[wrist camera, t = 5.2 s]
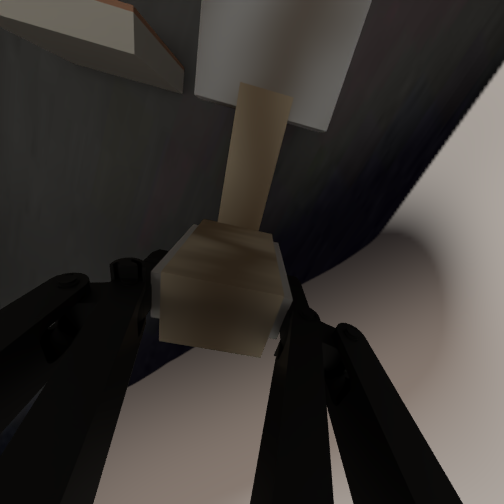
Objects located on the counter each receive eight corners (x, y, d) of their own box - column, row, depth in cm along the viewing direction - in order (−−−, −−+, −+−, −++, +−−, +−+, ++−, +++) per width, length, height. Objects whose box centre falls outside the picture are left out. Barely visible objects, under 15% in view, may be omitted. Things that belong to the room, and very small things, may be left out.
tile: (74, 64, 22) (-56, -1, 13) (70, 34, 20) (-74, -59, 12) (182, 94, 23) (134, 54, 14) (184, 67, 22) (133, 5, 13)
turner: (180, 305, 19) (132, 402, 12) (212, -54, 9) (21, -974, 2) (258, 320, 20) (260, 420, 12) (366, 0, 10) (713, -485, 2)
